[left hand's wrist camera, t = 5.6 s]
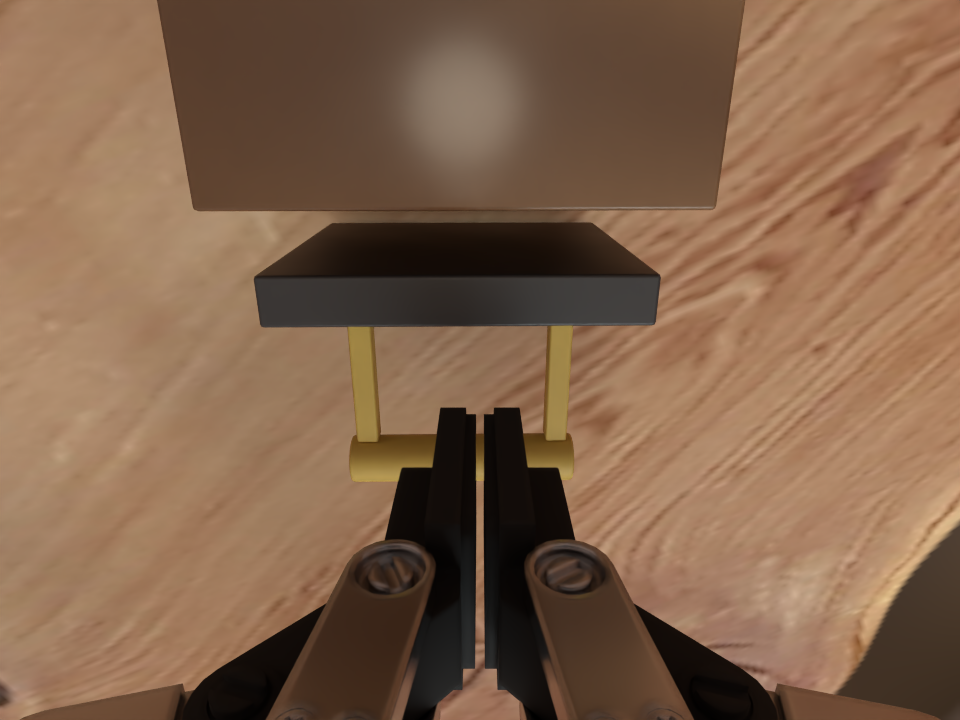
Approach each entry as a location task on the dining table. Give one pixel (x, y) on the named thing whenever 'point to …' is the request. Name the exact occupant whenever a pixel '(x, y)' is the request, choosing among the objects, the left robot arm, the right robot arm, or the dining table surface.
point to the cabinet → (452, 103)
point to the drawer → (456, 309)
